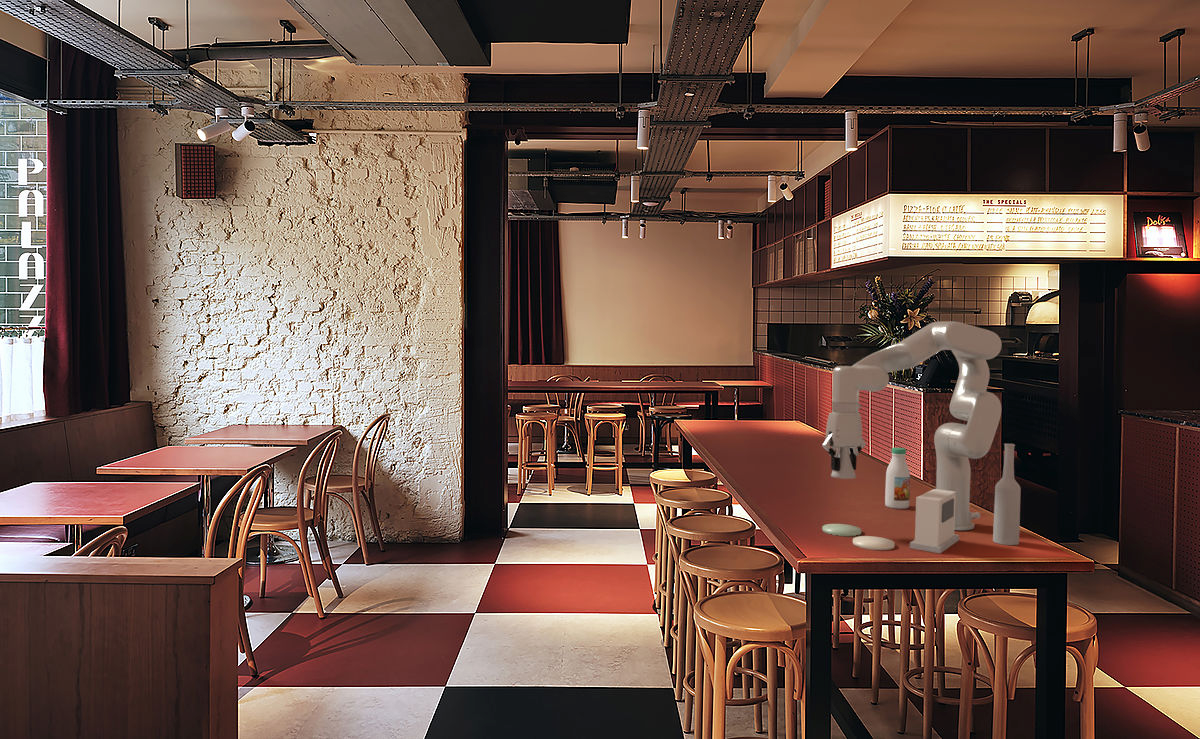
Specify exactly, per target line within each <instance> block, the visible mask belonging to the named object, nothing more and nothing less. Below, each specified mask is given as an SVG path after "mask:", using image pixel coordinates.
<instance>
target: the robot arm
mask: <svg viewBox="0 0 1200 739" xmlns="http://www.w3.org/2000/svg"><path fill="white" fill-rule="evenodd" d="M1002 344H1003V343H1002V340H1001V337H999V335H998V334H997V333H995V332H994V331H991V330H989V329H986V328H981V327H979V326H978V327H977V326H974V325H971V324H967V323H964V322H959V321H953V320H952V321H950V320H949V321H942V320H941V321H934V322H931V323H929V324H927V325H926V326H924V327H921V329H919V330H917V331H915V332H914V333H913V334H911V335H909V336H907V337H905V338H904V339H903V340H901V341H899V342H897V343H895V344H892V345H890V346H887V347H885V348H883V349H880V350H877V351H875V352H872V353H871V354H869V355H867V356H865V357H862V359H860V360H858V361H857V362H856V363H854V364H853V365H851V366H849V365H848V366H847V365H845V366H843V365H840V366H838V365H837V366H835V367H834V368H833V371H832V392H831V395H832V396H831V397H832V398H831V412H829V413H828V416H827V420H826V428H825V437H824V438H825V439H824V442H823V443H822V448H823V449H824V450H826V452H827V453H828V455H829V456H830V469H831V471H833V470H835V471H839V470H840V457H838V456H839V452H840V449H841V447H849V456H850V460H851V463H852V466H853V469H854V471H856V470H857V457H858V456H859V454H860V453H861V451H862V450H863V448H865V446H866V445H867V443H866V441H865V439H863V426H862V416H861V413H860V412H859V409H861V408H862V405H861V404H860V391H866V392H873V393H875V392H879V391H882V390H884V389H885V388H886V387H887V386H888V384H889V381H890V377H889V374H888V373H892V372H897V371H903V370H904V371H905V370H907V369H913V368H914V367H917V366H919V365H920V364H922V363H923V362H925V361H926V360H928V359H929V358H931V357H932V356H935V355H936V354H938V353H939V352H941V351H951V353H952V354H953V355H954V357H955V359H956V361H957V364H958V368H959V373H958V378H957V381H956V384H955V387H954V390H953V394H952V397H951V400H950V403H949V412H950V414H951V415H952V417H954V418H956V419H959V420H960V421H961V420H962V421H966V422H967V424H964V423H958V422H946V423H943V424H941V425H940V426H938V428H937V429H936V430H935V432H934V436H933V437H934V438H933V443H934V448H935V454H936V455H935V456H936V457H935V458H936V476H935V477H936V482H935V489H939V490H946V491H954V492H956V501H955V530H954V531H971V530H973V529H975V524H974V522H972V520H976V519H978V520H979V519H980V518H981V513H980V512H978V511H975V512H972V511H970V496H971V493H970V492H971V474H972V472H971V464H970V460H969V459H971V460H972V459H973V460H976V459H980V458H983V457H984V456H986V454H988V452H989V450H990V449H991V446H992V443H993V441H994V438H995V436H996V432H997V429H998V426H999V423H1000V419H1001V415H1002V404H1001V401H1000V399H999V398H998V396H997V395H995V394H994V393H993V392H989V391H987V389H988V385H989V381H990V374H991V373H990V368H989V365H988V362H987V360H992V359H994V358H995V357H997V356H998V355H999V354H1000V352H1001V350H1002Z"/></svg>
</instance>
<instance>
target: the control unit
mask: <svg viewBox="0 0 1200 739" xmlns="http://www.w3.org/2000/svg"><path fill="white" fill-rule="evenodd" d="M955 501H956V492H954V491H946V490H939V489H936V488H933V489H931V490H928V491H925V493H923V494H921V495H919V496H916V497H915V522H914V523H915V525H914V526H915V527H914V530H915V531H914V539H913V540H912V541H910V542H909V549H913V550H918V551H924V552H929V553H935V554H942V553H943V552H945V551H946V550H947V549H949V548H950V547H951V546H953V545H955V544H956V543H957V542H959V540H960V534H955V531H956V530H955Z"/></svg>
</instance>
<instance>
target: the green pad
mask: <svg viewBox="0 0 1200 739" xmlns="http://www.w3.org/2000/svg"><path fill="white" fill-rule="evenodd" d="M821 529H822V532H823V533H825V534H829V535H831V534H832V536H836V535H838V536H839V537H857V536H856V535H858V536H860V535H862V528H860V527H858V526H856V525H852V524H844V523H828V524H824V525H823V526H822V528H821Z"/></svg>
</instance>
